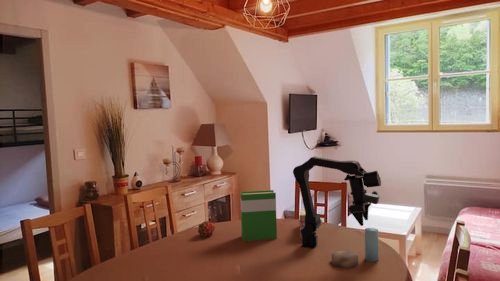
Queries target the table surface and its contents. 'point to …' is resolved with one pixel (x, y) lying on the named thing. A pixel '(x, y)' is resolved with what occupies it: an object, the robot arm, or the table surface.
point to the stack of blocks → (302, 220)
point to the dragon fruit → (206, 229)
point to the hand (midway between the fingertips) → (364, 222)
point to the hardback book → (258, 215)
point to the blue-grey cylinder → (371, 244)
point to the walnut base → (344, 259)
